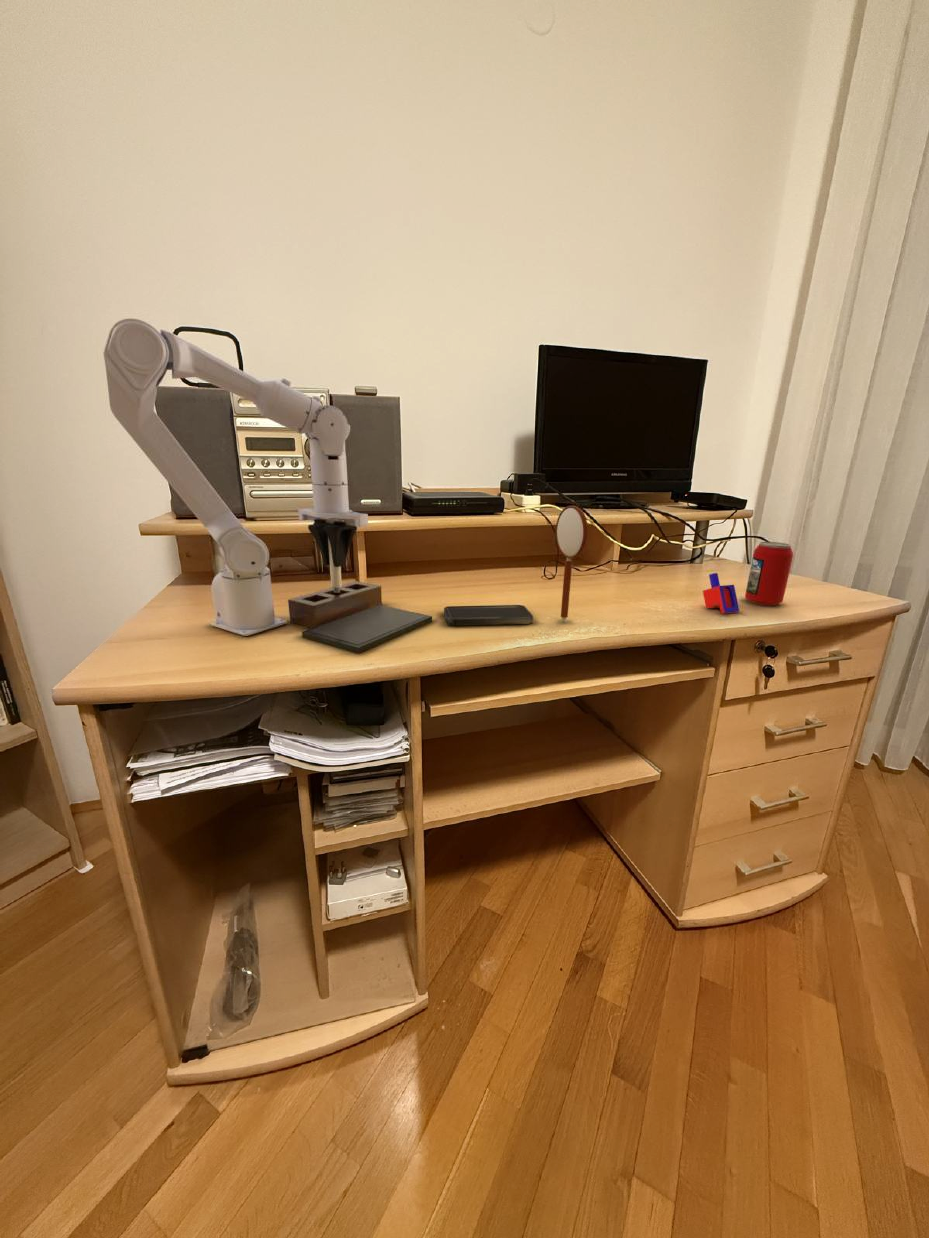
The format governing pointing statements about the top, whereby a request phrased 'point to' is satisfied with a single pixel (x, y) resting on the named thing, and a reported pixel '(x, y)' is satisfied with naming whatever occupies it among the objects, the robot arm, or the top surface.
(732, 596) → the toy building block
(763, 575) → the beverage can
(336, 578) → the stylus
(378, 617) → the tablet
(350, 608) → the pen stand
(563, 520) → the magnifying glass
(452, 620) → the phone
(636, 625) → the top surface
